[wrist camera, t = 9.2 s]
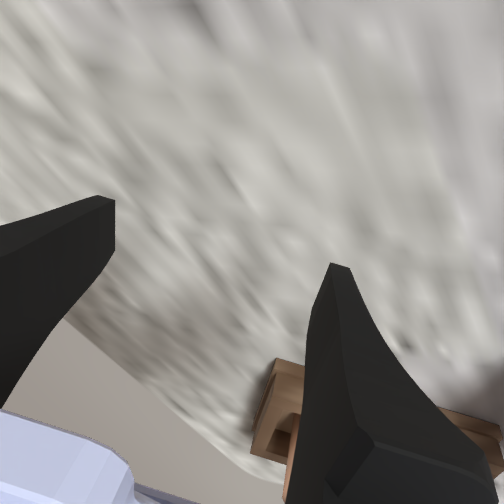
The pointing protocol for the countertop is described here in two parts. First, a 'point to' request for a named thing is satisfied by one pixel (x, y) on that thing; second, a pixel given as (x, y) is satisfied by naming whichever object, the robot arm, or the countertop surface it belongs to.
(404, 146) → the countertop surface
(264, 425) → the rack
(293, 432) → the clay rod
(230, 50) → the countertop surface
